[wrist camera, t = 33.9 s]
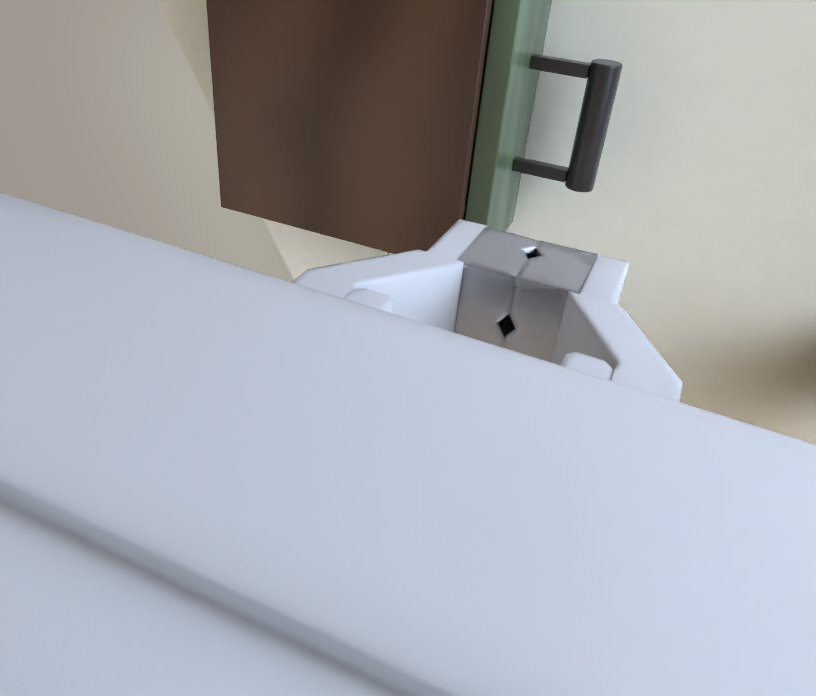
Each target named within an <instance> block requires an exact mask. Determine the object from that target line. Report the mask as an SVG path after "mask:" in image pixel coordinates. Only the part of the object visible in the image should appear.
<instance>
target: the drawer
mask: <svg viewBox="0 0 816 696" xmlns="http://www.w3.org/2000/svg"><path fill="white" fill-rule="evenodd" d="M551 1H552V0H492V6H491V13H490V21H489V28H488V36H487V43H486V51H485V58H484V65H483V73H482V80H481V88H480V95H479V103H478V110H477V118H476V125H475V133H474V140H473V148H472V155H471V163H470V170H469V178H468V185H467V193H466V200H465V208H464V215H465V221H469V222H474V223H478V224H483V225H487V227H490V228H494V229H498V230H501V231H505V230H506V229H507V227H508V226H509V225H510V224H511V223H512V221H513V216H514V211H515V205H516V199H517V194H518V188H519V182H520V177H521V173H525V174H530V175H534V176H539V177H543V178H548V179H552V180H557V181H561V182H565V181H566V182H565V186H566V187H567V188H568V189H570V190H573V191H577V192H590V191H592V190H593V187H594V183H595V178H596V174H597V170H598V166H599V162H600V157H601V153H602V149H603V145H604V141H605V136H606V132H607V128H608V124H609V120H610V115H611V111H612V107H613V103H614V99H615V94H616V90H617V86H618V82H619V78H620V73H621V69H622V64H621V63H619V62H616V61H612V60H605V59H595V60H592V62H591V63H586V62H580V61H574V60H568V59H562V58H556V57H550V56H544V55H542V52H543V46H544V40H545V35H546V29H547V23H548V18H549V12H550V6H551ZM539 70H540V71H545V72H551V73H557V74H563V75H568V76H574V77H580V78H588V80H587V84H586V89H585V94H584V98H583V103H582V108H581V112H580V117H579V122H578V126H577V131H576V136H575V140H574V145H573V150H572V154H571V159H570V164H569V168H568V167H563V166H558V165H553V164H549V163H544V162H539V161H535V160H530V159H525V158H524V154H525V148H526V143H527V137H528V131H529V126H530V120H531V114H532V109H533V103H534V97H535V92H536V86H537V80H538V75H539ZM464 215H463V216H464Z"/></svg>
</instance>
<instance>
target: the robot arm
mask: <svg viewBox="0 0 816 696" xmlns="http://www.w3.org/2000/svg"><path fill="white" fill-rule="evenodd" d="M628 267H629V262H626V261H621V260H617V259H613V258H608V257H604V256H599V255H598V254H595V253H590V252H586V251H582V250H578V249H573V248H569V247H565V246H561V245H556V244H552V243H548V242H544V241H537V240H534V239H530V238H527V237H523V236H519V235H516V234H512V233H508V232H505V231H501V230H498V229H494V228H490V227H487V225H483V224H478V223H474V222H469V221H465V220H461V219H459V220H458V221H457V222H456V223H455V224H454V225H453V226H452V227H451V228H450V229H449V230H448V231H447V232H446V233H444V234H443V235H442V236H441V237H440V238H439V239H438V240H437V241H436V242H435V243H434V244H433V245H432V246H431V247H430V248H429V249H428V250H427V251H423V250H413V251H408V252H402V253H396V254H391V255H385V256H380V257H374V258H368V259H363V260H357V261H352V262H346V263H340V264H335V265H329V266H324V267H318V268H313V269H308V270H306V271H305V272H304V273H302V274H301V275H300V276H299V277H297V278H296V279H295V280H293V281H292V282H289V281H286V280H283V279H279V278H276V277H273V276H270V275H267V274H264V273H260V272H257V271H253V270H250V269H247V268H244V267H241V266H238V265H234V264H231V263H228V262H224V261H222V260H218V259H215V258H212V257H209V256H205V255H202V254H199V253H196V252H193V251H189V250H186V249H183V248H179V247H176V246H173V245H170V244H167V243H163V242H160V241H157V240H154V239H151V238H147V237H144V236H141V235H137V234H134V233H131V232H128V231H125V230H121V229H118V228H115V227H112V226H109V225H105V224H102V223H99V222H96V221H92V220H89V219H86V218H82V217H80V216H76V215H73V214H70V213H67V212H63V211H60V210H57V209H54V208H50V207H47V206H44V205H41V204H37V203H34V202H31V201H28V200H25V199H21V198H18V197H15V196H12V195H8V194H5V193H2V192H0V696H816V444H812V443H809V442H806V441H803V440H800V439H796V438H793V437H790V436H787V435H783V434H780V433H777V432H774V431H770V430H767V429H764V428H761V427H758V426H754V425H751V424H748V423H745V422H741V421H738V420H735V419H732V418H729V417H725V416H722V415H719V414H716V413H712V412H709V411H706V410H703V409H699V408H696V407H693V406H690V405H687V404H683V403H680V402H679V401H680V395H681V390H682V385H683V383H682V381H681V380H680V379H679V377H678V376H677V375H676V374H675V372H674V371H673V370H672V369H671V367H670V366H669V365H668V364H667V362H666V361H665V360H664V359H663V357H662V356H661V355H660V354H659V352H658V351H657V350H656V349H655V347H654V346H653V345H652V344H651V342H650V341H649V340H648V339H647V337H646V336H645V335H644V334H643V332H642V331H641V330H640V329H639V327H638V326H637V325H636V324H635V322H634V321H633V320H632V319H631V317H630V316H629V315H628V314H627V312H626V311H625V310H624V309H623V307H622V306H621V305H618V302H619V298H620V295H621V292H622V288H623V285H624V282H625V278H626V275H627V271H628Z"/></svg>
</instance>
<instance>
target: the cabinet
mask: <svg viewBox="0 0 816 696" xmlns="http://www.w3.org/2000/svg"><path fill="white" fill-rule="evenodd" d="M206 1H207V15H208V29H209V43H210V56H211V70H212V84H213V98H214V112H215V125H216V140H217V154H218V168H219V181H220V196H221V206H222V207H224V208H227V209H231V210H235V211H239V212H242V213H246V214H250V215H253V216H257V217H261V218H264V219H268V220H272V221H275V222H279V223H283V224H287V225H290V226H294V227H298V228H301V229H305V230H309V231H312V232H316V233H320V234H323V235H327V236H331V237H335V238H338V239H342V240H346V241H349V242H353V243H357V244H360V245H364V246H368V247H371V248H375V249H379V250H383V251H386V252H390V253H394V254H396V253H402V252H408V251H413V250H423V251H427V250H428V249H429V248H430V247H431V246H432V245H433V244H434V243H435V242H436V241H437V240H438V239H439V238H440V237H441V236H442V235H443V234H444V233H446V232H447V231H448V230H449V229H450V228H451V227H452V226H453V225H454V224H455V223H456V222H457V221H458V220H459V219H461V220H465V215H464V208H465V200H466V193H467V185H468V178H469V170H470V163H471V155H472V148H473V140H474V133H475V125H476V118H477V110H478V103H479V95H480V88H481V80H482V73H483V65H484V58H485V51H486V43H487V36H488V28H489V21H490V13H491V6H492V0H206ZM463 215H464V216H463Z"/></svg>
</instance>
